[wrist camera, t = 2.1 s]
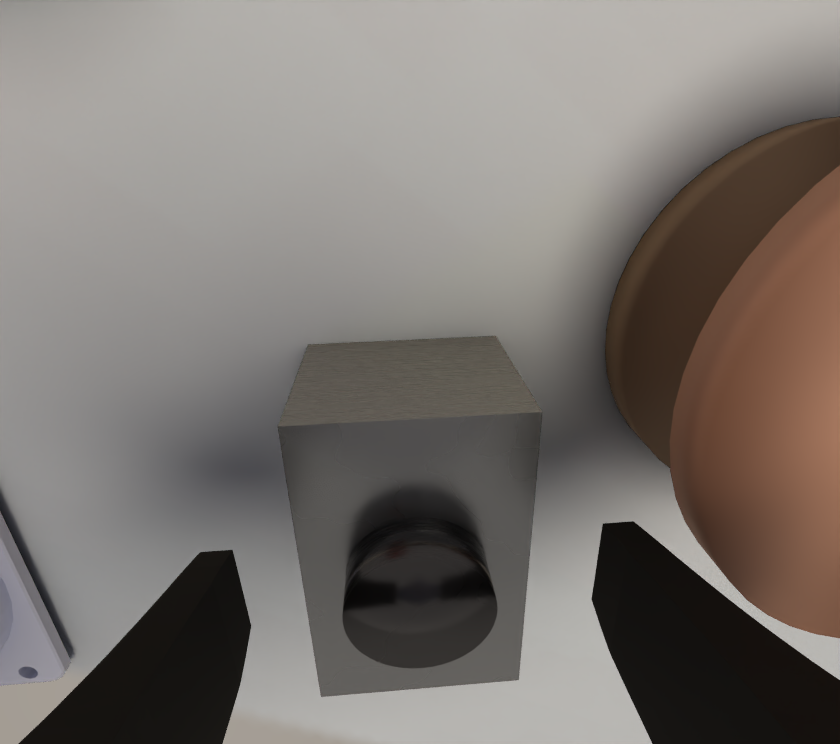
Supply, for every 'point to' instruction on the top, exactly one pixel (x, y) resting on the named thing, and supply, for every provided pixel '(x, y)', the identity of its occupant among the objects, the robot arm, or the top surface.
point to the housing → (412, 510)
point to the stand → (746, 365)
